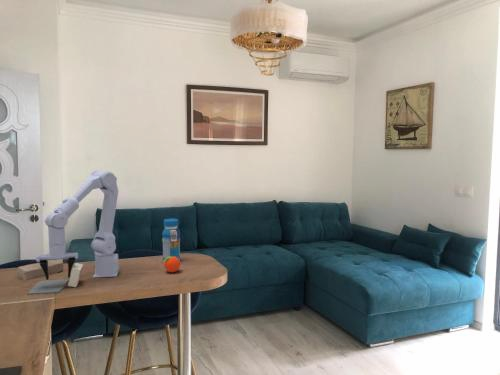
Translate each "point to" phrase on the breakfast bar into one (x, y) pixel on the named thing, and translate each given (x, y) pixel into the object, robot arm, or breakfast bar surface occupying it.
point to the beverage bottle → (171, 239)
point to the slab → (75, 275)
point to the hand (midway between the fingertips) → (58, 277)
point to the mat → (48, 286)
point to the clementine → (171, 264)
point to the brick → (39, 269)
